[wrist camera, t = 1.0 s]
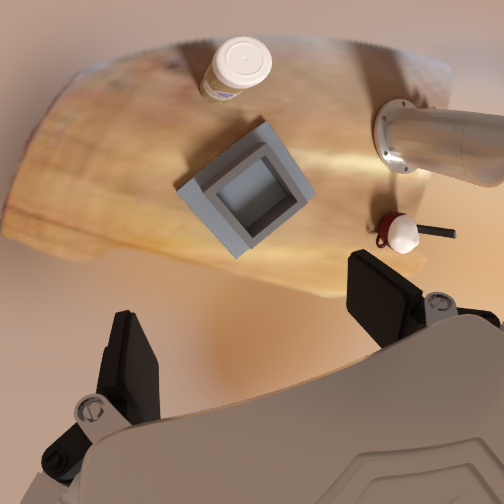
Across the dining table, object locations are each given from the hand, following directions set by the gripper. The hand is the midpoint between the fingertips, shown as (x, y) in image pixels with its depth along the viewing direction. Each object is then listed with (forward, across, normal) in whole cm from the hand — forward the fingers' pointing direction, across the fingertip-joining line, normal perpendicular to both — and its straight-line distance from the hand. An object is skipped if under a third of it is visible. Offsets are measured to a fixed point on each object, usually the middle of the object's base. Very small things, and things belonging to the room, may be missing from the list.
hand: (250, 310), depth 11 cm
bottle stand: (+26, -6, +1) cm, 26 cm away
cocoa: (+26, -30, +11) cm, 41 cm away
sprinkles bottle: (+26, -4, -13) cm, 29 cm away
